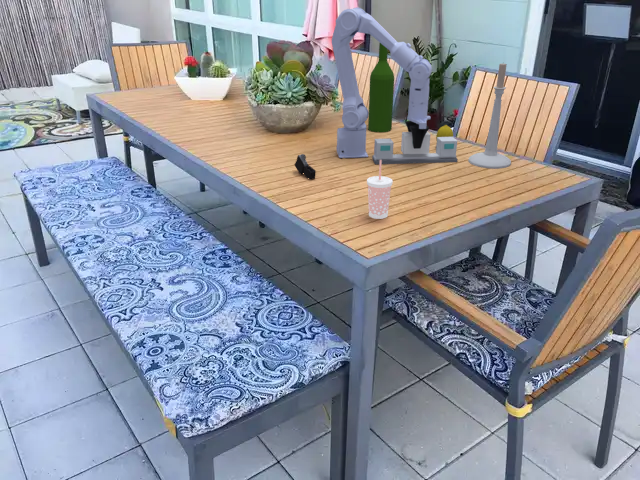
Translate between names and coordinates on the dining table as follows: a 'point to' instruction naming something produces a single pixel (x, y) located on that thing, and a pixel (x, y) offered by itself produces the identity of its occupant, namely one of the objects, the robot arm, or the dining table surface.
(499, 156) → the candlestick
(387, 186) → the beverage cup
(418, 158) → the board
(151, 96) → the dining table surface
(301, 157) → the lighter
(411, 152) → the block
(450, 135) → the lemon
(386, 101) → the wine bottle
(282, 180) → the dining table surface
